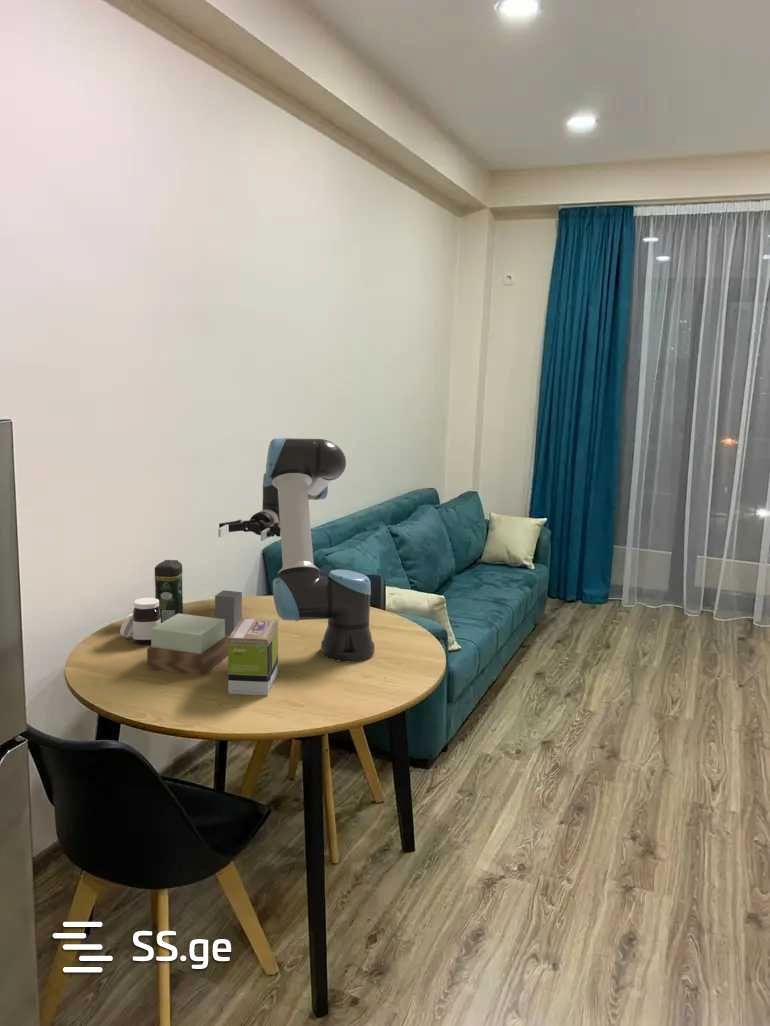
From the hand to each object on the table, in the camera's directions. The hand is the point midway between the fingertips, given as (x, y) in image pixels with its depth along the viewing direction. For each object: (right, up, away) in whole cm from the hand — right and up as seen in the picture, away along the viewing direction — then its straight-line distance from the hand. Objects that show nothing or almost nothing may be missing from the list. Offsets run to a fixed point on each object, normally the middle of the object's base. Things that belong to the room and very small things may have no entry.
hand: (240, 534), depth 231 cm
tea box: (+11, -36, -41) cm, 56 cm away
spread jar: (-26, -30, -13) cm, 42 cm away
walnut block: (-8, -34, -28) cm, 45 cm away
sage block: (-8, -28, -29) cm, 41 cm away
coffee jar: (-23, -27, +6) cm, 36 cm away
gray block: (-3, -29, -4) cm, 30 cm away
